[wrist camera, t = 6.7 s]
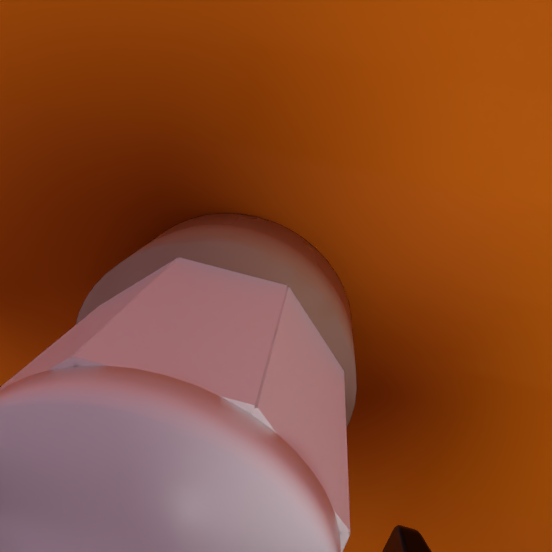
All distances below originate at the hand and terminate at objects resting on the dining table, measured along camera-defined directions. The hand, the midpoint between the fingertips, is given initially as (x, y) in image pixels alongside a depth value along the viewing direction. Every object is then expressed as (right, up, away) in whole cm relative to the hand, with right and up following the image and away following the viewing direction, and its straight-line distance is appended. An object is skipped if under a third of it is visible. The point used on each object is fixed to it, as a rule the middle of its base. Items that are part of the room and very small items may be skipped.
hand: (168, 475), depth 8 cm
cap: (0, +1, +3) cm, 3 cm away
